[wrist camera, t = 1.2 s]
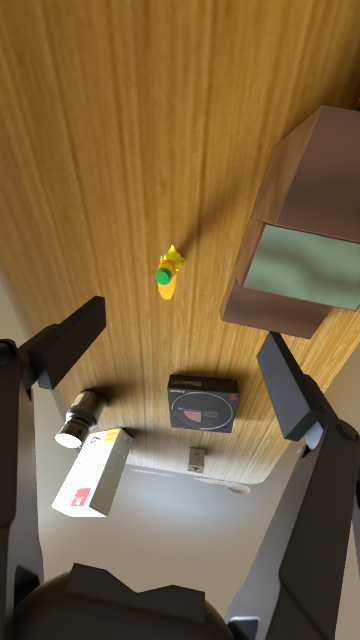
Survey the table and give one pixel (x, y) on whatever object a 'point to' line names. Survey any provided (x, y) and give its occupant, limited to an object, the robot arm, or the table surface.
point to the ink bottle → (81, 419)
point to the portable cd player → (202, 403)
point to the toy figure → (168, 272)
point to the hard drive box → (95, 475)
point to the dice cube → (196, 460)
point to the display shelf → (302, 231)
